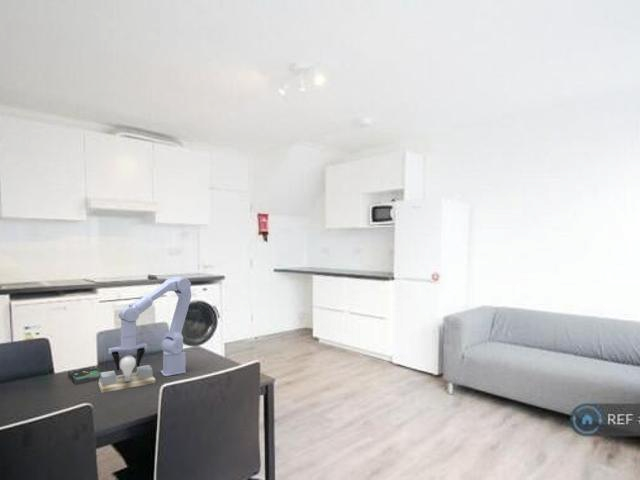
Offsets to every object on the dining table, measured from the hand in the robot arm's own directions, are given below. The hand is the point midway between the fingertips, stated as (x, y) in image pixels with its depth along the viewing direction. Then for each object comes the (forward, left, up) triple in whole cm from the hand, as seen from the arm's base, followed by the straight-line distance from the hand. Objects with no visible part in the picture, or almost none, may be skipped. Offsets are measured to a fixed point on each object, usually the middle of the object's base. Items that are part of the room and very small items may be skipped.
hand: (128, 368), depth 161 cm
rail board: (0, -1, -7) cm, 7 cm away
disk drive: (+14, -19, -8) cm, 25 cm away
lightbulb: (0, +1, -6) cm, 6 cm away
